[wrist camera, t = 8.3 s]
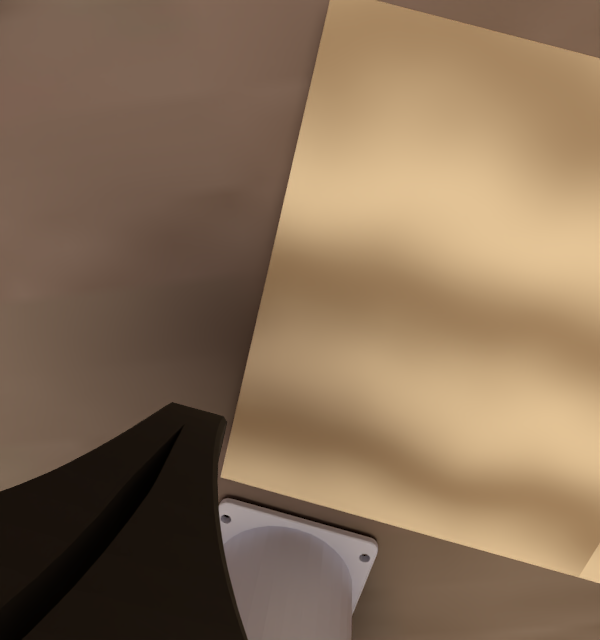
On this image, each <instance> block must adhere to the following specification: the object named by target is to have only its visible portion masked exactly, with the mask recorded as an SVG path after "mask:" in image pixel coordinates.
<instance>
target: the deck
mask: <svg viewBox="0 0 600 640" xmlns="http://www.w3.org/2000/svg"><path fill="white" fill-rule="evenodd" d="M221 477H222V478H225V479H229V480H233V481H236V482H240V483H243V484H247V485H250V486H254V487H258V488H261V489H265V490H268V491H272V492H275V493H279V494H283V495H286V496H290V497H293V498H297V499H300V500H304V501H308V502H311V503H315V504H318V505H322V506H325V507H329V508H333V509H336V510H340V511H343V512H347V513H351V514H354V515H358V516H361V517H365V518H368V519H372V520H376V521H379V522H383V523H386V524H390V525H393V526H397V527H401V528H404V529H408V530H411V531H415V532H418V533H422V534H426V535H429V536H433V537H436V538H440V539H444V540H447V541H451V542H454V543H458V544H461V545H465V546H469V547H472V548H476V549H479V550H483V551H486V552H490V553H494V554H497V555H501V556H504V557H508V558H511V559H515V560H519V561H522V562H526V563H529V564H533V565H537V566H540V567H544V568H547V569H551V570H554V571H558V572H562V573H565V574H569V575H572V576H576V577H579V578H583V579H587V580H590V581H594V582H597V583H600V58H596V57H592V56H588V55H585V54H581V53H577V52H573V51H569V50H565V49H561V48H558V47H554V46H550V45H546V44H542V43H538V42H534V41H531V40H527V39H523V38H519V37H515V36H511V35H508V34H504V33H500V32H496V31H492V30H488V29H484V28H481V27H477V26H473V25H469V24H465V23H461V22H457V21H454V20H450V19H446V18H442V17H438V16H434V15H430V14H427V13H423V12H419V11H415V10H411V9H407V8H403V7H400V6H396V5H392V4H388V3H384V2H380V1H376V0H330V2H329V7H328V11H327V15H326V20H325V24H324V28H323V33H322V37H321V42H320V46H319V50H318V55H317V59H316V63H315V68H314V72H313V76H312V81H311V85H310V90H309V94H308V98H307V103H306V107H305V111H304V116H303V120H302V124H301V129H300V133H299V137H298V142H297V146H296V151H295V155H294V159H293V164H292V168H291V172H290V177H289V181H288V185H287V190H286V194H285V198H284V203H283V207H282V212H281V216H280V220H279V225H278V229H277V233H276V238H275V242H274V246H273V251H272V255H271V259H270V264H269V268H268V273H267V277H266V281H265V286H264V290H263V294H262V299H261V303H260V307H259V312H258V316H257V320H256V325H255V329H254V334H253V338H252V342H251V347H250V351H249V355H248V360H247V364H246V368H245V373H244V377H243V382H242V386H241V390H240V395H239V399H238V403H237V408H236V412H235V416H234V421H233V425H232V429H231V434H230V438H229V443H228V447H227V451H226V456H225V460H224V464H223V469H222V473H221Z"/></svg>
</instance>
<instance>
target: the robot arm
mask: <svg viewBox="0 0 600 640" xmlns="http://www.w3.org/2000/svg"><path fill="white" fill-rule="evenodd" d="M226 425H227V421H226V420H225V418H224V416H220V415H216V414H213V413H209V412H206V411H202V410H198V409H195V408H191V407H187V406H184V405H180V404H177V403H173V402H172V403H170V404H168V405H167V406H165V407H163V408H162V409H160V410H159V411H157V412H156V413H154V414H152V415H151V416H149V417H148V418H146V419H145V420H143V421H142V422H140V423H138V424H137V425H135V426H134V427H132V428H130V429H129V430H127V431H125V432H124V433H122V434H120V435H119V436H117V437H115V438H114V439H112V440H110V441H108V442H107V443H105V444H103V445H102V446H100V447H98V448H96V449H94V450H92V451H90V452H88V453H87V454H85V455H83V456H81V457H79V458H77V459H75V460H73V461H71V462H69V463H67V464H65V465H63V466H61V467H59V468H57V469H55V470H53V471H51V472H48V473H46V474H44V475H41V476H39V477H37V478H34V479H32V480H29V481H27V482H25V483H22V484H20V485H17V486H15V487H12V488H9V489H6V490H3V491H0V640H352V615H353V612H354V610H355V607H356V605H357V602H358V600H359V597H360V595H361V593H362V590H363V588H364V585H365V583H366V580H367V578H368V575H369V573H370V570H371V568H372V565H373V563H374V561H375V558H376V556H377V553H378V544H377V542H376V541H375V540H374V539H373V538H370V537H367V536H363V535H360V534H356V533H353V532H349V531H345V530H342V529H338V528H335V527H331V526H328V525H324V524H320V523H317V522H313V521H310V520H306V519H303V518H299V517H295V516H292V515H288V514H285V513H281V512H278V511H274V510H270V509H267V508H263V507H260V506H256V505H253V504H249V503H245V502H242V501H238V500H235V499H231V498H226V499H223V500H222V501H221V502H220V504H219V505H218V485H217V478H218V461H219V456H220V452H221V447H222V443H223V438H224V434H225V429H226ZM224 515H228V516H230V518H227V517H225V516H224ZM362 554H367V556H362Z"/></svg>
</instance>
